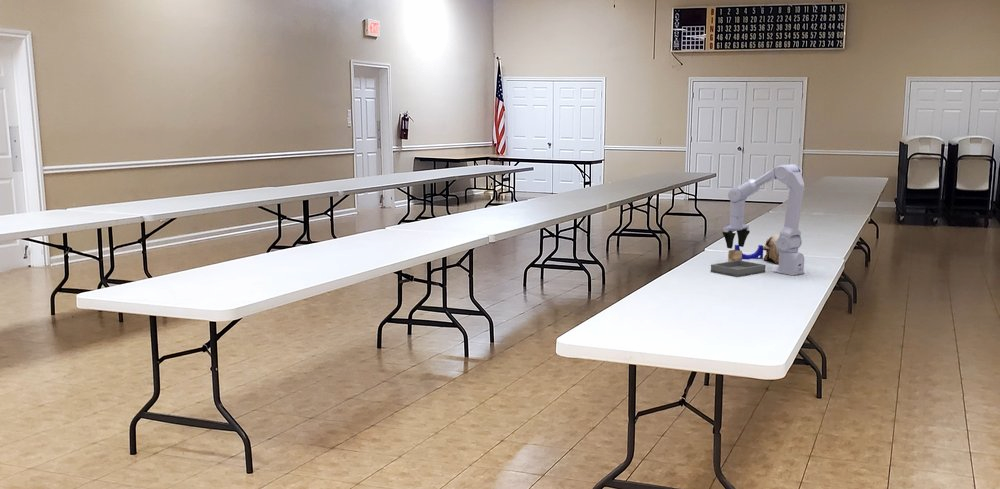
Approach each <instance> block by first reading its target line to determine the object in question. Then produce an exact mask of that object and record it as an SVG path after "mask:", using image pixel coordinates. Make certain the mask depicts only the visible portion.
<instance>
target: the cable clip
mask: <svg viewBox="0 0 1000 489" xmlns="http://www.w3.org/2000/svg"><path fill="white" fill-rule="evenodd" d="M757 247H758V248H757V249H756V251H755V252H753V253H751V254H745V253H743V252H742V260H764V250H763V247H764V245H763V244H761V245H760V244H759V245H758V246H757ZM734 250H740V251H741V247H740V246H739V245H738V244H734Z"/></svg>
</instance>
